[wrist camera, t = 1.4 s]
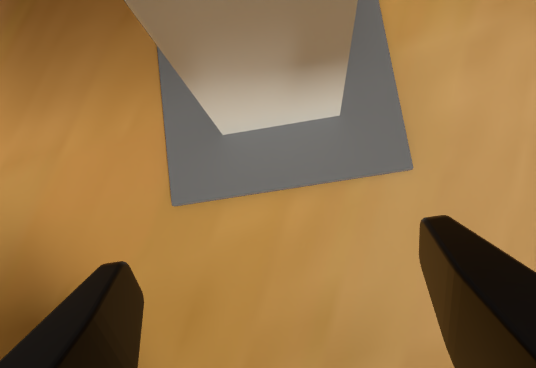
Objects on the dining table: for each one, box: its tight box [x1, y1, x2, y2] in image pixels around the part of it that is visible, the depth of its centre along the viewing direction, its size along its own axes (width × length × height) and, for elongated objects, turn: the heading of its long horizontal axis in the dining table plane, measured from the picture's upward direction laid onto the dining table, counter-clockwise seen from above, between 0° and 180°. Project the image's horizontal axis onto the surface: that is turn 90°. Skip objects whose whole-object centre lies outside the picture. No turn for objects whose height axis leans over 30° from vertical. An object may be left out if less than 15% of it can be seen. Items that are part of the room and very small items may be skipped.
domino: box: [124, 0, 358, 135], centre depth 16 cm, size 2×6×12 cm, turn 98°
